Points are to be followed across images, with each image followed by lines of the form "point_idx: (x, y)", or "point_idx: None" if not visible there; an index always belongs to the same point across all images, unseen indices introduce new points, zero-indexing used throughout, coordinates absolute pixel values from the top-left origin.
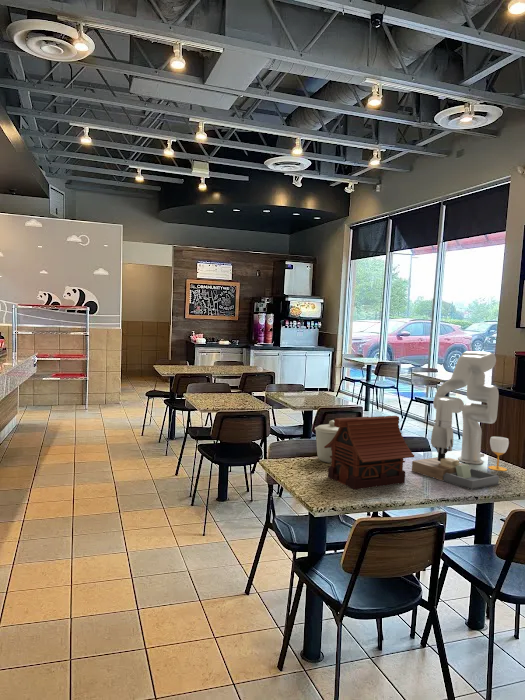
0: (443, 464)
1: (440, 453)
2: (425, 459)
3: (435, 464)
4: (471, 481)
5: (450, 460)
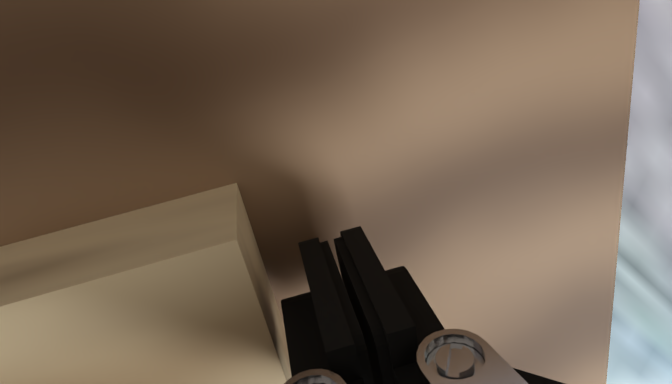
0: (164, 211)
1: (343, 349)
2: (605, 152)
3: (282, 105)
4: None
5: (53, 369)
